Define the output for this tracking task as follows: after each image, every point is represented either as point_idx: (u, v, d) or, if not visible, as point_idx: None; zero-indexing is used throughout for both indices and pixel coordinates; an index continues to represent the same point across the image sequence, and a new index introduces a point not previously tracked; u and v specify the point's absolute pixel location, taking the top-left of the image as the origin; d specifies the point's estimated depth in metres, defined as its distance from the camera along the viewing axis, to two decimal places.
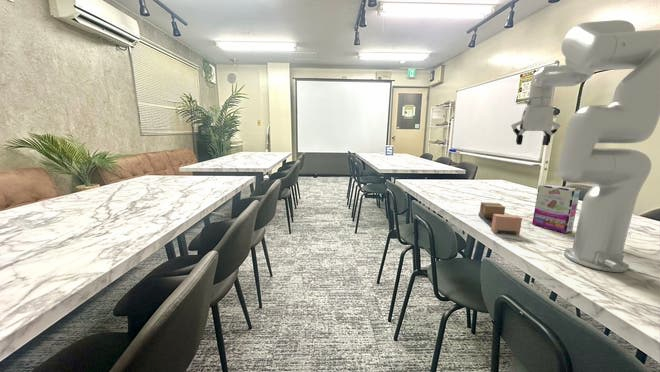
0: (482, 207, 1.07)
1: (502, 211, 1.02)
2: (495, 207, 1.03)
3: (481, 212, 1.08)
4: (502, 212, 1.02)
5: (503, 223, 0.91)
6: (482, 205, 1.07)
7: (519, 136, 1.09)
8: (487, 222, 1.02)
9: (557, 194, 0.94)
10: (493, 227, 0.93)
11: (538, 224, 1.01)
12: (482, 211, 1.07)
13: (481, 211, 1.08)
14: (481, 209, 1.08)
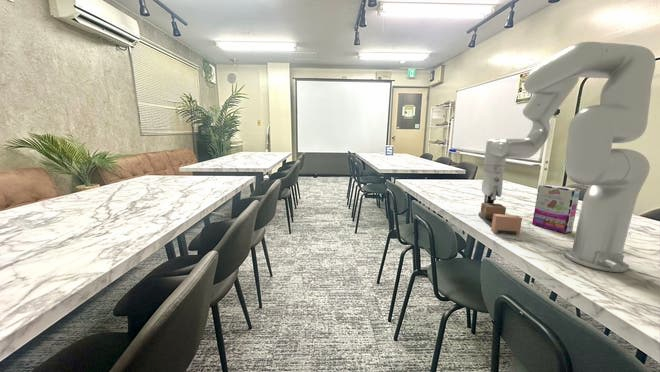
0: (483, 208, 1.06)
1: (503, 211, 1.02)
2: (496, 208, 1.02)
3: (482, 213, 1.07)
4: (503, 213, 1.02)
5: (503, 223, 0.91)
6: (483, 206, 1.06)
7: None
8: (487, 222, 1.02)
9: (557, 194, 0.94)
10: (493, 227, 0.93)
11: (538, 224, 1.01)
12: (482, 212, 1.06)
13: (482, 212, 1.07)
14: (482, 210, 1.07)
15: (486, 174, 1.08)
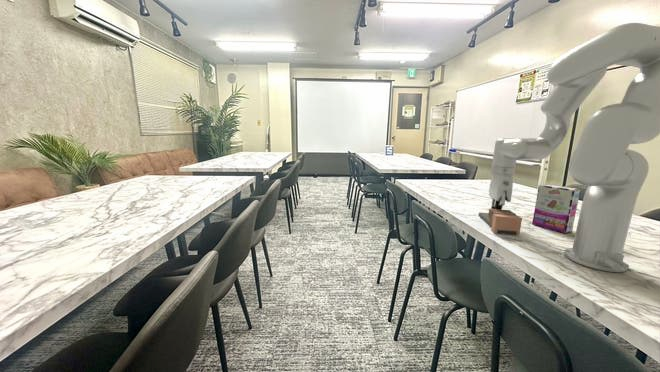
0: (490, 214, 0.97)
1: None
2: (505, 214, 0.93)
3: (489, 219, 0.98)
4: None
5: (503, 223, 0.91)
6: (490, 212, 0.98)
7: None
8: (487, 222, 1.02)
9: (557, 194, 0.94)
10: (493, 227, 0.93)
11: (538, 224, 1.01)
12: (490, 218, 0.97)
13: (489, 218, 0.98)
14: (489, 216, 0.98)
15: (494, 177, 0.99)
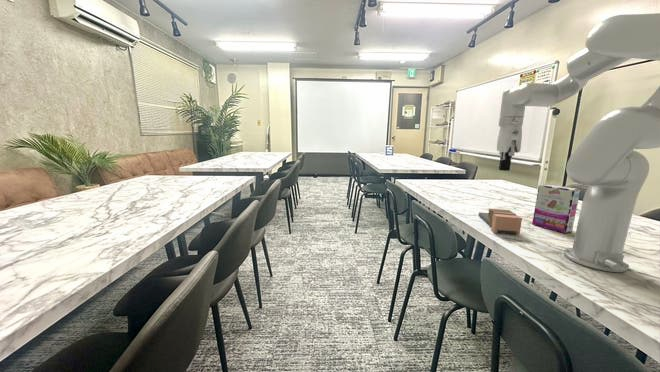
0: (490, 214, 0.98)
1: None
2: (505, 214, 0.93)
3: (489, 219, 0.98)
4: None
5: (503, 223, 0.91)
6: (490, 212, 0.98)
7: (508, 161, 0.99)
8: (487, 222, 1.02)
9: (557, 194, 0.94)
10: (493, 227, 0.93)
11: (538, 224, 1.01)
12: (490, 218, 0.98)
13: (489, 218, 0.98)
14: (489, 216, 0.99)
15: (502, 128, 0.98)
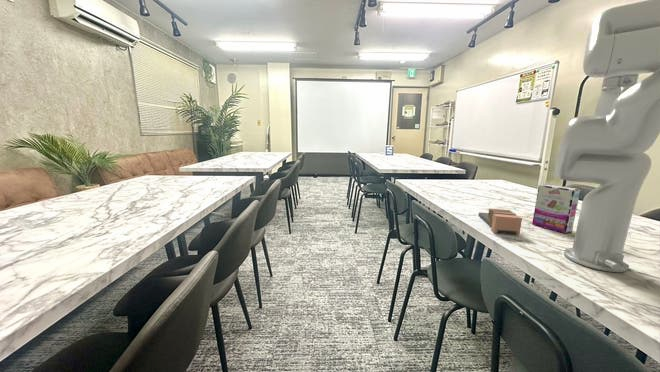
0: (490, 214, 0.98)
1: None
2: (505, 214, 0.93)
3: (489, 219, 0.98)
4: None
5: (503, 223, 0.91)
6: (490, 212, 0.98)
7: None
8: (487, 222, 1.02)
9: (557, 194, 0.94)
10: (493, 227, 0.93)
11: (538, 224, 1.01)
12: (490, 218, 0.98)
13: (489, 218, 0.98)
14: (489, 216, 0.99)
15: (608, 92, 0.83)
